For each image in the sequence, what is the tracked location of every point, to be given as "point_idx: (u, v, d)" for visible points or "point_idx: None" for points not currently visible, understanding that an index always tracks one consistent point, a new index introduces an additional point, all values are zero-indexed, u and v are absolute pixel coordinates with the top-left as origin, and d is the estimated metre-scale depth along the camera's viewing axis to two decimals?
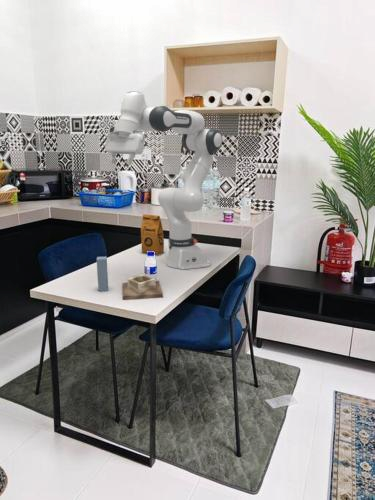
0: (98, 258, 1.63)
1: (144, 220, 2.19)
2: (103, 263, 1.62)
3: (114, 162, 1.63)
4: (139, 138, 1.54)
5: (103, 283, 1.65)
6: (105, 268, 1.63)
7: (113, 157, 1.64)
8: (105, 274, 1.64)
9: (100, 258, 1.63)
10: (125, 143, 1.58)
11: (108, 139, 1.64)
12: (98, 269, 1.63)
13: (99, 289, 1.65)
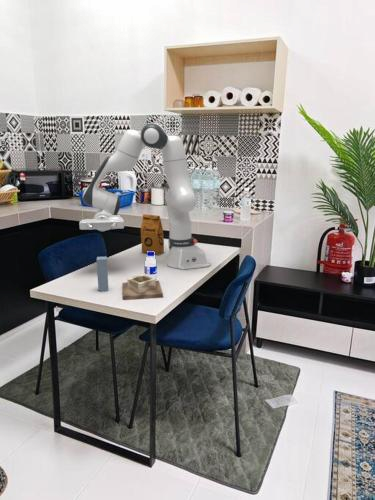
0: (98, 258, 1.63)
1: (144, 220, 2.19)
2: (103, 263, 1.62)
3: (110, 226, 1.76)
4: None
5: (103, 283, 1.65)
6: (105, 268, 1.63)
7: None
8: (105, 274, 1.64)
9: (100, 258, 1.63)
10: None
11: None
12: (98, 269, 1.63)
13: (99, 289, 1.65)
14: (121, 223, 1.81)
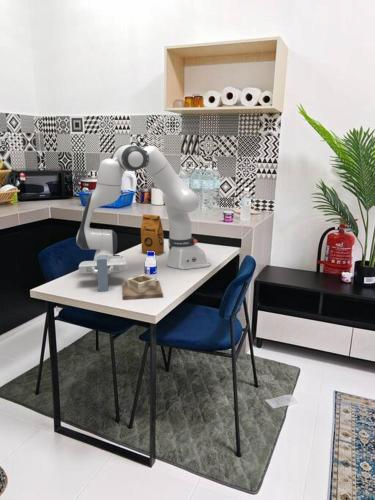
0: (98, 258, 1.63)
1: (144, 220, 2.19)
2: (103, 263, 1.62)
3: (107, 271, 1.65)
4: None
5: (103, 283, 1.65)
6: (105, 268, 1.63)
7: None
8: (104, 274, 1.64)
9: (100, 258, 1.63)
10: None
11: None
12: (98, 269, 1.63)
13: (99, 289, 1.65)
14: (123, 266, 1.70)
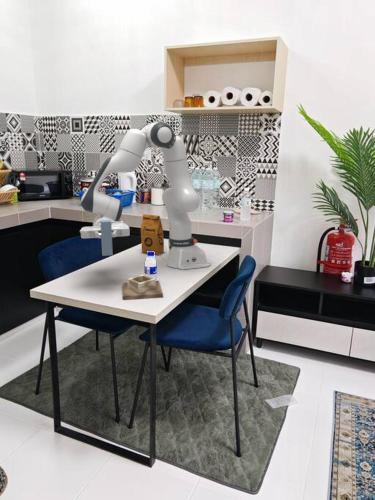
0: (102, 221, 1.58)
1: (144, 220, 2.19)
2: (107, 226, 1.57)
3: None
4: None
5: (108, 247, 1.60)
6: (110, 231, 1.58)
7: None
8: (109, 237, 1.59)
9: (104, 221, 1.58)
10: None
11: None
12: (102, 232, 1.57)
13: (103, 253, 1.60)
14: (127, 230, 1.66)
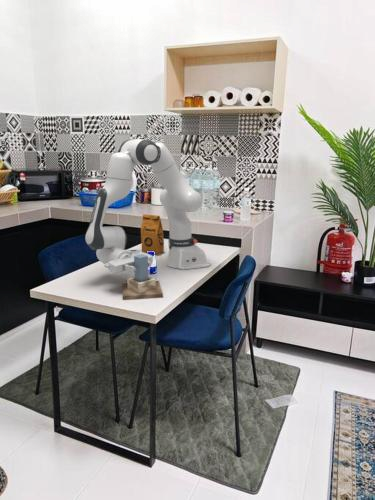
0: (139, 256, 1.60)
1: (144, 220, 2.19)
2: (145, 261, 1.61)
3: (148, 264, 1.64)
4: (109, 269, 1.62)
5: None
6: (146, 265, 1.62)
7: None
8: (146, 271, 1.62)
9: (140, 256, 1.60)
10: None
11: None
12: (141, 267, 1.60)
13: None
14: (151, 258, 1.71)
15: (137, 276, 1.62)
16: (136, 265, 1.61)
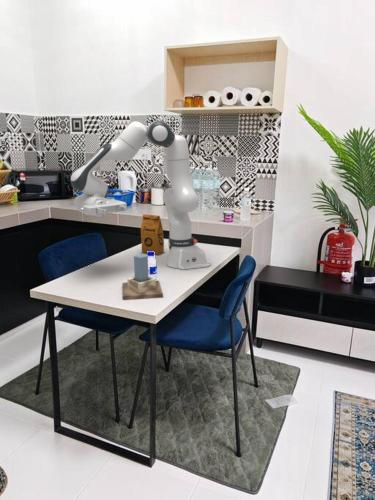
0: (138, 256, 1.60)
1: (144, 220, 2.19)
2: (145, 261, 1.61)
3: (122, 209, 1.74)
4: (84, 212, 1.71)
5: None
6: (146, 265, 1.62)
7: None
8: (146, 271, 1.62)
9: (140, 256, 1.60)
10: None
11: None
12: (141, 267, 1.60)
13: None
14: (125, 205, 1.80)
15: (137, 276, 1.62)
16: (136, 265, 1.61)
